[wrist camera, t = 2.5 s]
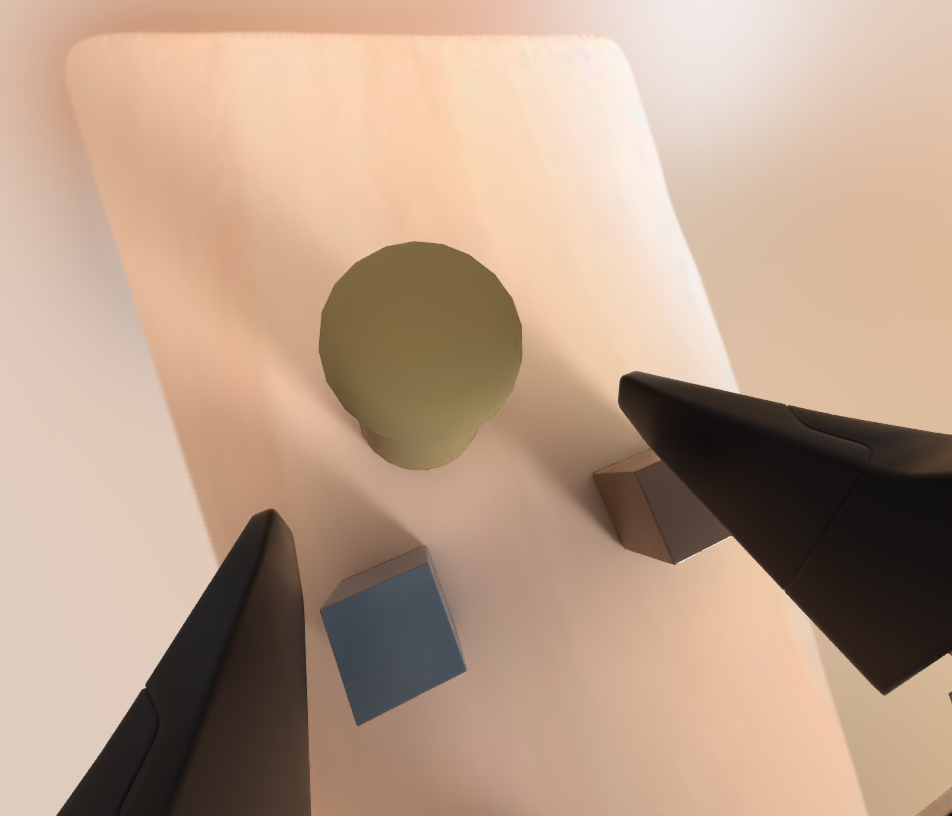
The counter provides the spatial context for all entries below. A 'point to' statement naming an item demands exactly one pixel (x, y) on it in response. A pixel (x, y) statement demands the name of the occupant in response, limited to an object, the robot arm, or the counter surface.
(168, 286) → the counter surface
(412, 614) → the slate block
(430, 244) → the cork
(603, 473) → the walnut block
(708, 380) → the counter surface
